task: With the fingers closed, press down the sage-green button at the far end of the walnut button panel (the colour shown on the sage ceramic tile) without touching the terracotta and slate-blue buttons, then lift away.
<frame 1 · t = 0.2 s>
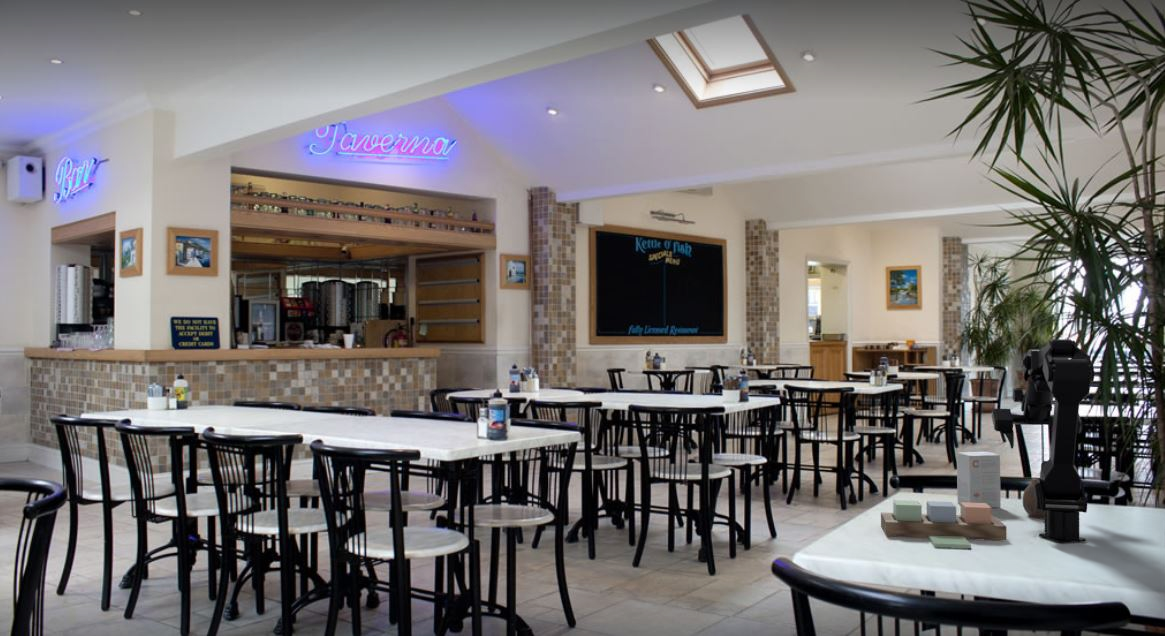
hand: (1032, 447, 224), 15 cm above the table, tool tilted 30°, fingers open, 9 cm apart
slate button: (941, 513, 200), point 4 cm above the table, slide at 0.0 cm
sage button: (907, 511, 202), point 4 cm above the table, slide at 0.0 cm
small box: (978, 506, 229), on the table
walnut panel: (941, 533, 200), on the table
sage prompt tile: (949, 544, 191), on the table
terracotta button: (975, 514, 199), point 4 cm above the table, slide at 0.0 cm
vase: (1038, 517, 217), on the table
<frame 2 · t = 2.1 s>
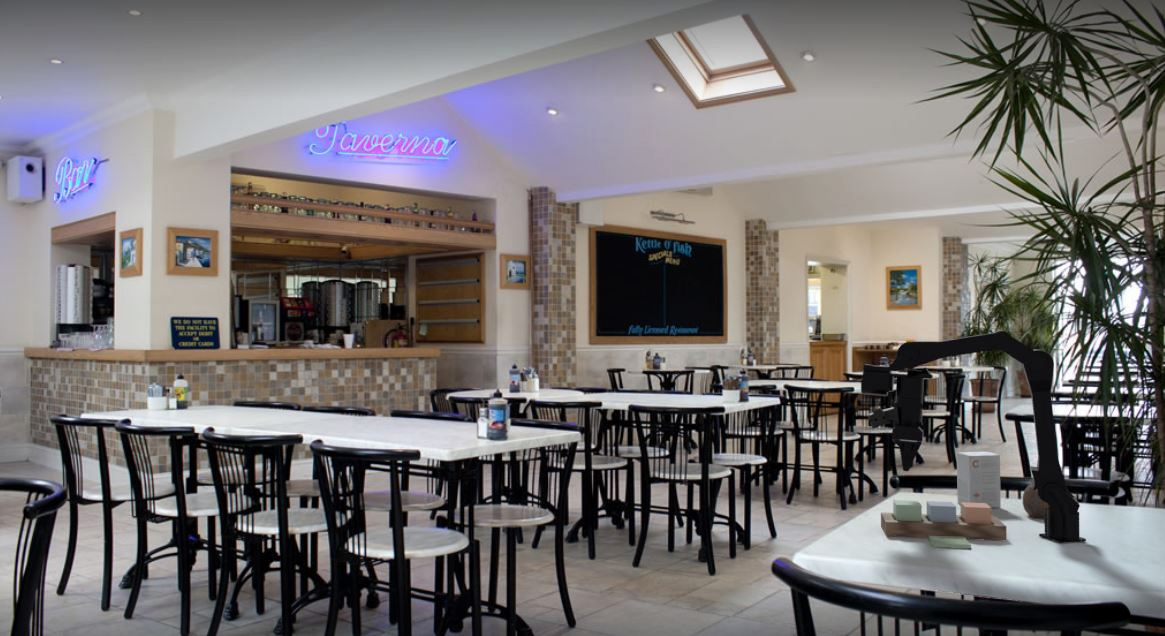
hand: (906, 467, 206), 13 cm above the table, tool pointing down, fingers open, 9 cm apart
nothing on the table moved.
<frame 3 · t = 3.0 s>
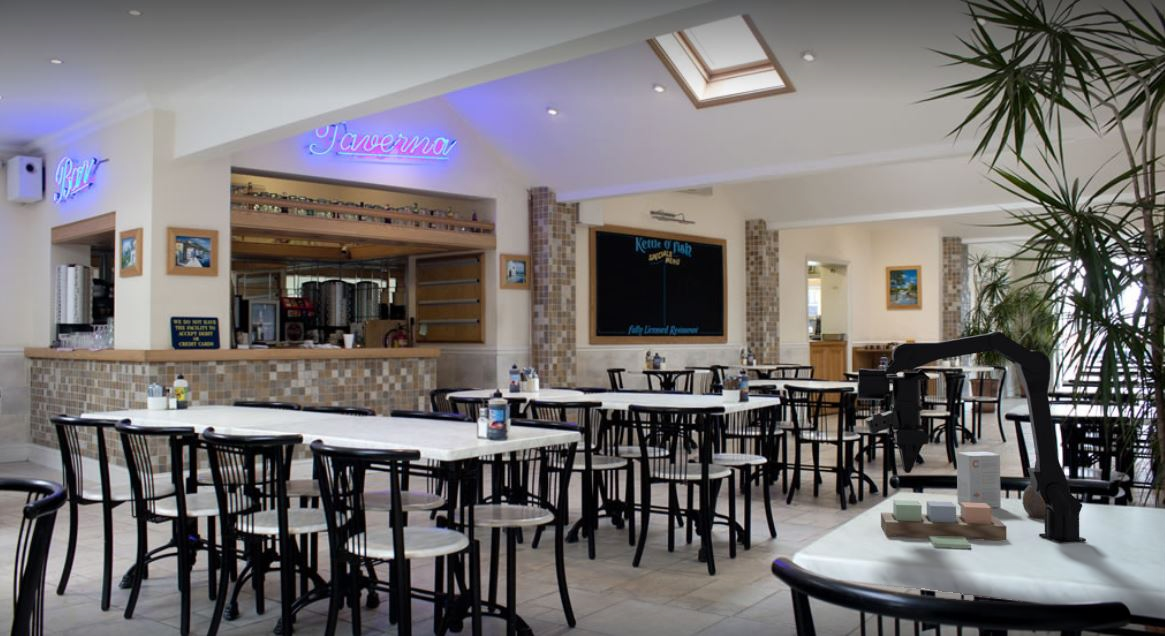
hand: (906, 472, 202), 13 cm above the table, tool pointing down, fingers closed
nothing on the table moved.
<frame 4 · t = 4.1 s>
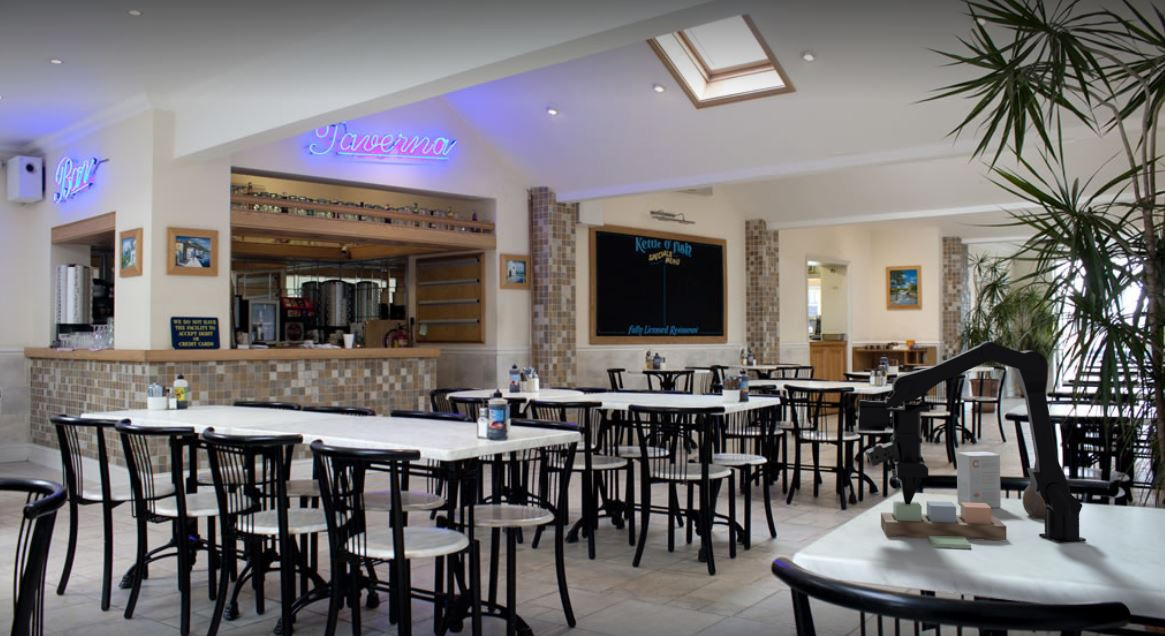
hand: (907, 503, 202), 6 cm above the table, tool pointing down, fingers closed, pressing on sage button
sage button: (907, 512, 202), point 4 cm above the table, slide at 0.2 cm, touching gripper
everything else where it was.
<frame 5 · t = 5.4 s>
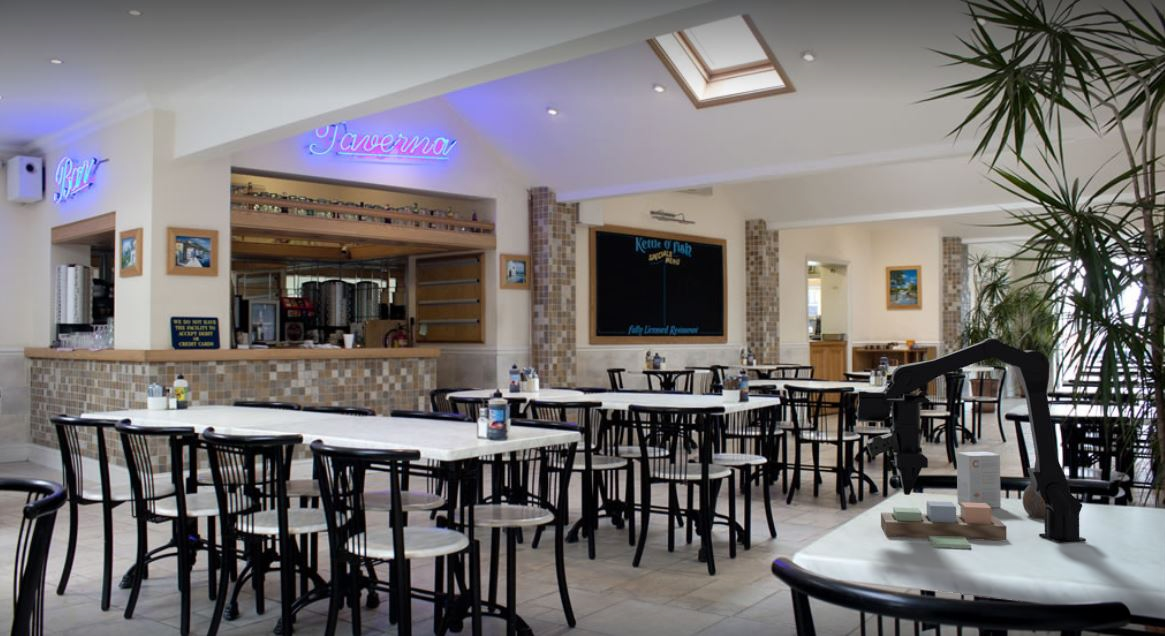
hand: (906, 494, 202), 8 cm above the table, tool pointing down, fingers closed
sage button: (907, 519, 202), point 3 cm above the table, slide at 1.6 cm
everything else where it was.
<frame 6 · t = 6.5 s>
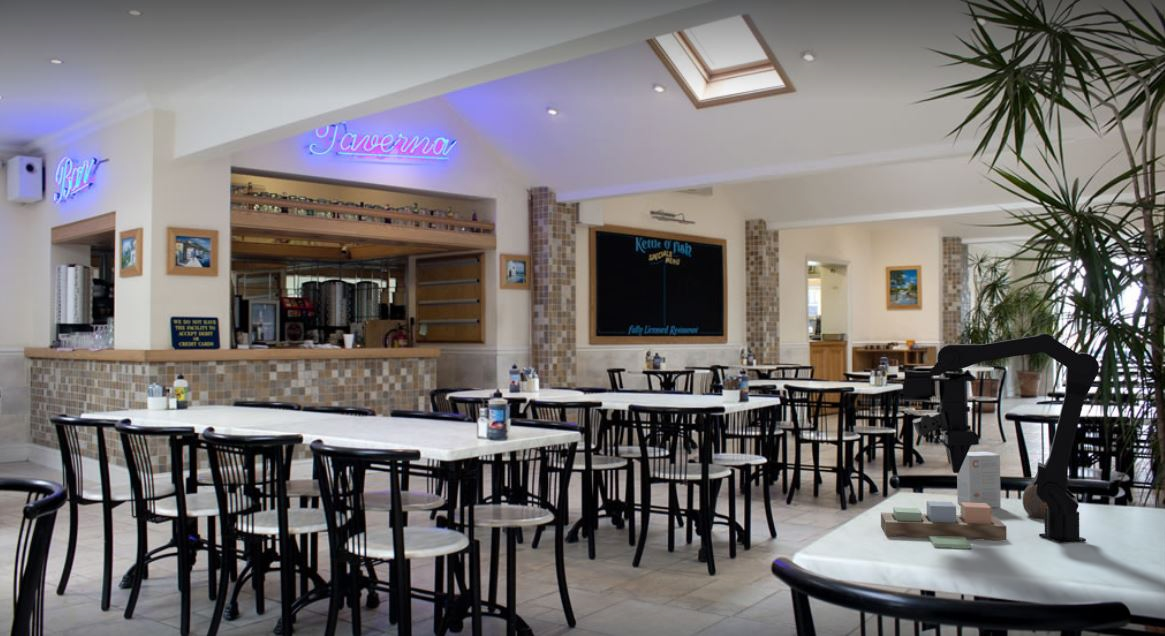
hand: (955, 472, 203), 13 cm above the table, tool pointing down, fingers closed
nothing on the table moved.
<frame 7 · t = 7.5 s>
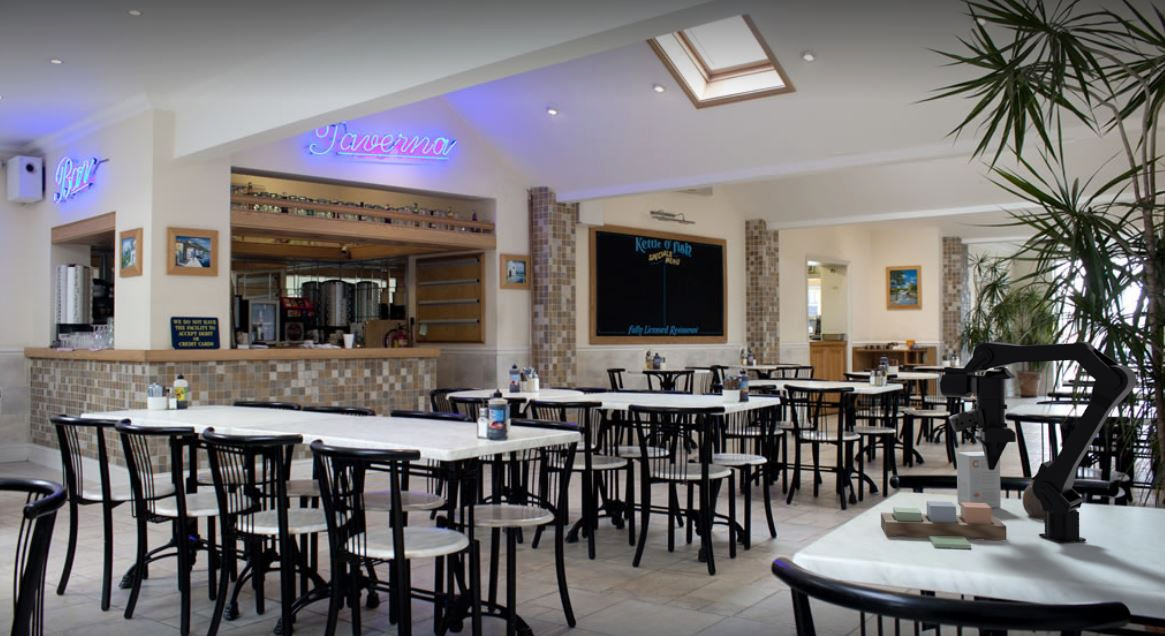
hand: (991, 469, 204), 13 cm above the table, tool pointing down, fingers closed
nothing on the table moved.
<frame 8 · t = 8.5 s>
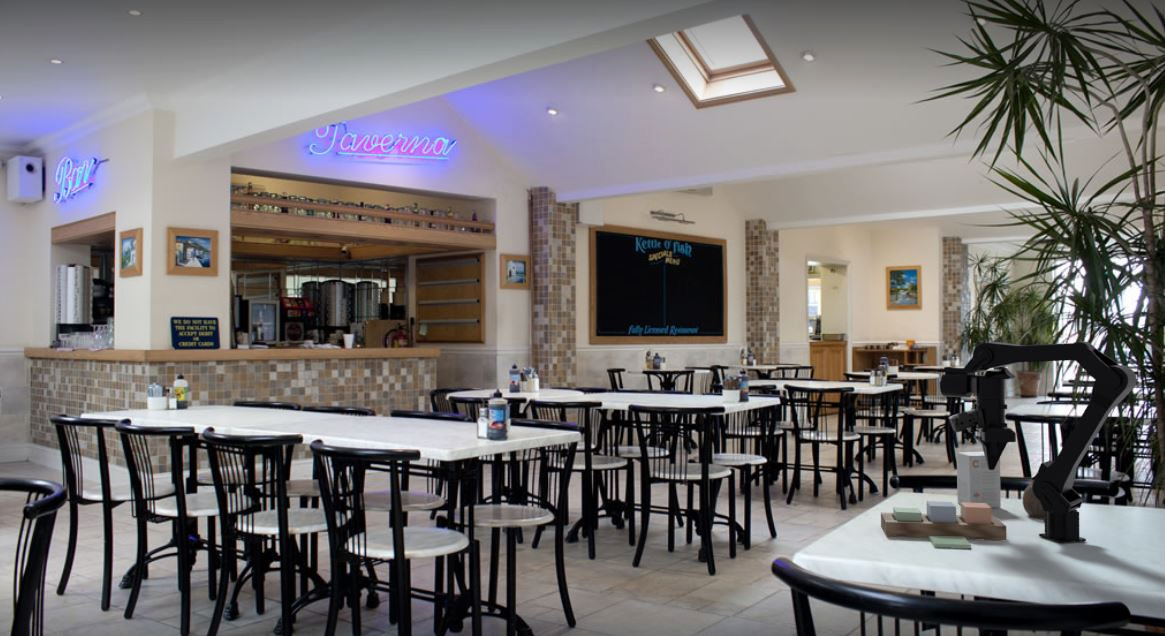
hand: (991, 469, 204), 13 cm above the table, tool pointing down, fingers closed
nothing on the table moved.
at the end: sage button slide at 1.6 cm; slate button slide at 0.0 cm; terracotta button slide at 0.0 cm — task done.
